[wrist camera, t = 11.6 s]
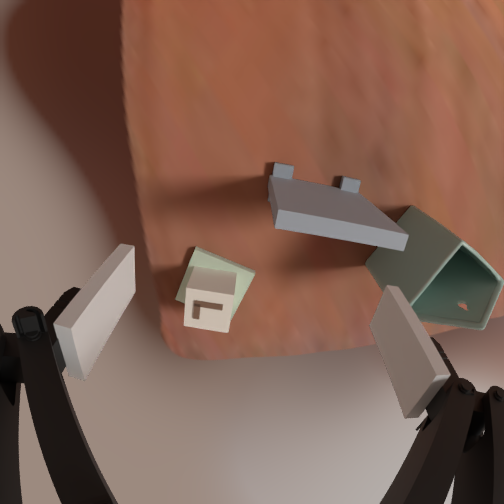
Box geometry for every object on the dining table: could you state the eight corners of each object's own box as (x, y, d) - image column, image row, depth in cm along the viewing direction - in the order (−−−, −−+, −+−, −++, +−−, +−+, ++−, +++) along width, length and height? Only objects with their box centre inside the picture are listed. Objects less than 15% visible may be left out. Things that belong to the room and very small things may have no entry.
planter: (455, 196, 40) (543, 248, 22) (454, 243, 43) (530, 309, 25) (360, 215, 42) (425, 287, 24) (364, 265, 45) (419, 354, 27)
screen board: (265, 198, 41) (270, 247, 26) (272, 161, 39) (282, 188, 24) (351, 215, 42) (397, 267, 27) (360, 180, 40) (414, 217, 25)
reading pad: (196, 246, 44) (194, 249, 43) (255, 270, 45) (255, 274, 44) (176, 296, 47) (175, 299, 46) (230, 317, 48) (230, 321, 48)
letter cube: (194, 265, 44) (185, 288, 38) (236, 272, 44) (234, 296, 38) (191, 301, 46) (183, 326, 41) (231, 307, 47) (228, 333, 41)
